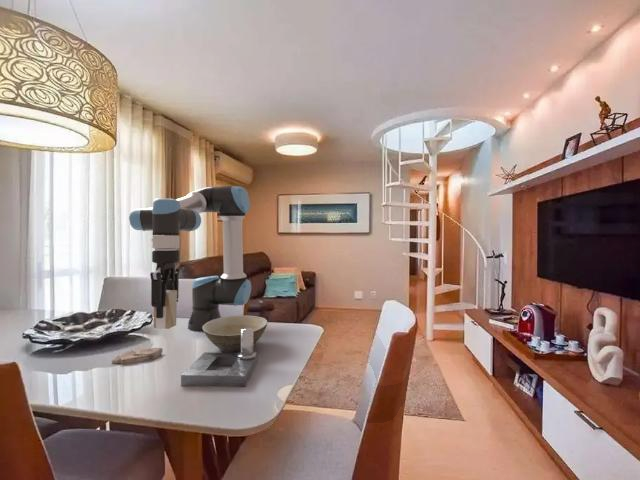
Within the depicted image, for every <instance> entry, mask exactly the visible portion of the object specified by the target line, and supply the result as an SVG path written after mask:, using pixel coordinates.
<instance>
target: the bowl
mask: <svg viewBox="0 0 640 480" xmlns="http://www.w3.org/2000/svg"><path fill="white" fill-rule="evenodd" d="M244 327H252V328H253V347H254V345H255V344H256V343H257V342H258V340H260V339H261V337H262V335H263V333H264V332H265V330H266V329H267V327H268V320H267V319H266V318H265V317H263V316H262V317H261V316H257V315H256V316H255V315H246V314H245V315H243V314H242V315H241V314H237V315H227V316H221V318H217V319H214V320H211V321H209V322H207V323H206V324H204V325H203V327H202V329H203V333H204V334H205V336H206V338H207V339H208V340H209V341H210V342H211V343H212V344H213V345H214V346H215V347H217V348H218V349H219V350H220V351H222V352H223V353H239V352H241V328H244Z"/></svg>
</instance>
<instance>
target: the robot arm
mask: <svg viewBox="0 0 640 480" xmlns="http://www.w3.org/2000/svg"><path fill="white" fill-rule="evenodd" d="M250 207H251V201H250V196H249V194H248V191H247V190H246V188H245V187H243V186H235V185H232V186H230V185H229V186H209V187H208V186H207V187H203V188H200V189H198V190H194V191H191V192H189V193H188V194H187V195H186V196H183V197H180V198H177V199H176V198H167V197H166V198H165V197H164V198H155V199H154V200H153V201H152V207H147V208H143V207H139V208H135V209H133V210H131V212H130V213H129V216H128V217H129V218H128V220H129V224H130V227H132V229H134V230H136V231H142V232H145V231H151V232H152V234H151V235H152V237H151V242H152V245H151V248H152V249H153V250H152V252H151V261H152V263H153V264H156V268H155V271H154V272H153V271H151V272H150V273H149V275H150V276H149V277H150V280H151V283H150V284H151V286H150V287H151V290H150V291H151V293H150V294H151V296H150V297H151V298H150V299H151V302H150V303H151V305H150V306H151V307H152V308H154V307H156V328H155V329H158V330H163V329H164V330H166V329H165V328H166V306H165V298H166V290H177V303H178V302H179V287H180V285H179V280H180V279H179V278H180V277H179V275H180V268H178V267H177V268H176V265H175V263H179V262H180V251H179V250H178V249H180V241H181V240H180V232H193V231H196V230H198V229H199V228H200V226H201V224H202V217H201V213H218V217H219V218H220V219H221V220H222V248H223V249H222V250H223V252H222V253H223V255H222V256H223V261H222V262H223V273H222V274H221V275H220V276H219V275H211V276H204V277H203V276H202V277H198V278H195V279H193V281H192V286H191V290H192V291H191V292H192V293H191V295H192V296H191V298H192V299H191V301H192V302H191V306H192V307H191V308H192V310H191V313H190V317H189V319H188V321H187V329H189V330H190V331H197V332H199V331H200V332H202V331H203V329H202V327H203V325H204V324H206V323H207V322H209V321H211V320H214V319H217V318H221V317H222V315H221V312H220V307H219V306H220V305H221V306H233V307H236V306H244V305H246V304H247V303H248V301H249V299H250V296H251V293H252V283H251V280H249V279H247V277H248V276H247V274H246V273H245V272H244V253H243V251H244V250H243V246H244V243H243V242H244V241H243V220H244V219H245V217H246V214H247V213H248V212H249V211H250V210H251V209H250ZM203 332H204V331H203Z"/></svg>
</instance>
